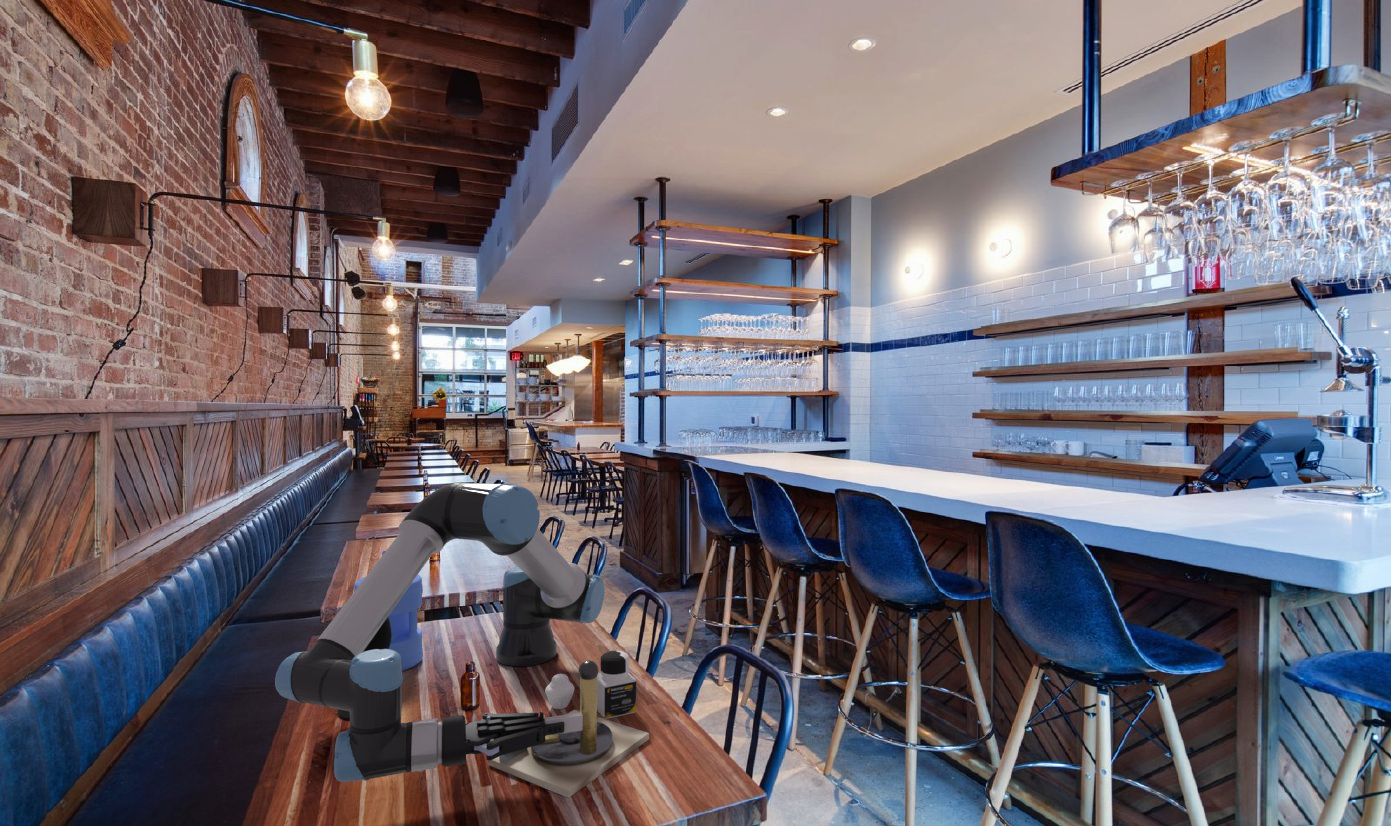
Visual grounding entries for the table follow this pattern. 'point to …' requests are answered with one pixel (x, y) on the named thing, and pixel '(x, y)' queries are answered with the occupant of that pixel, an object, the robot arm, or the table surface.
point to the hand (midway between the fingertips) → (581, 721)
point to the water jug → (406, 624)
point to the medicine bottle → (615, 686)
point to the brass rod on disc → (579, 743)
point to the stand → (571, 776)
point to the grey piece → (559, 691)
